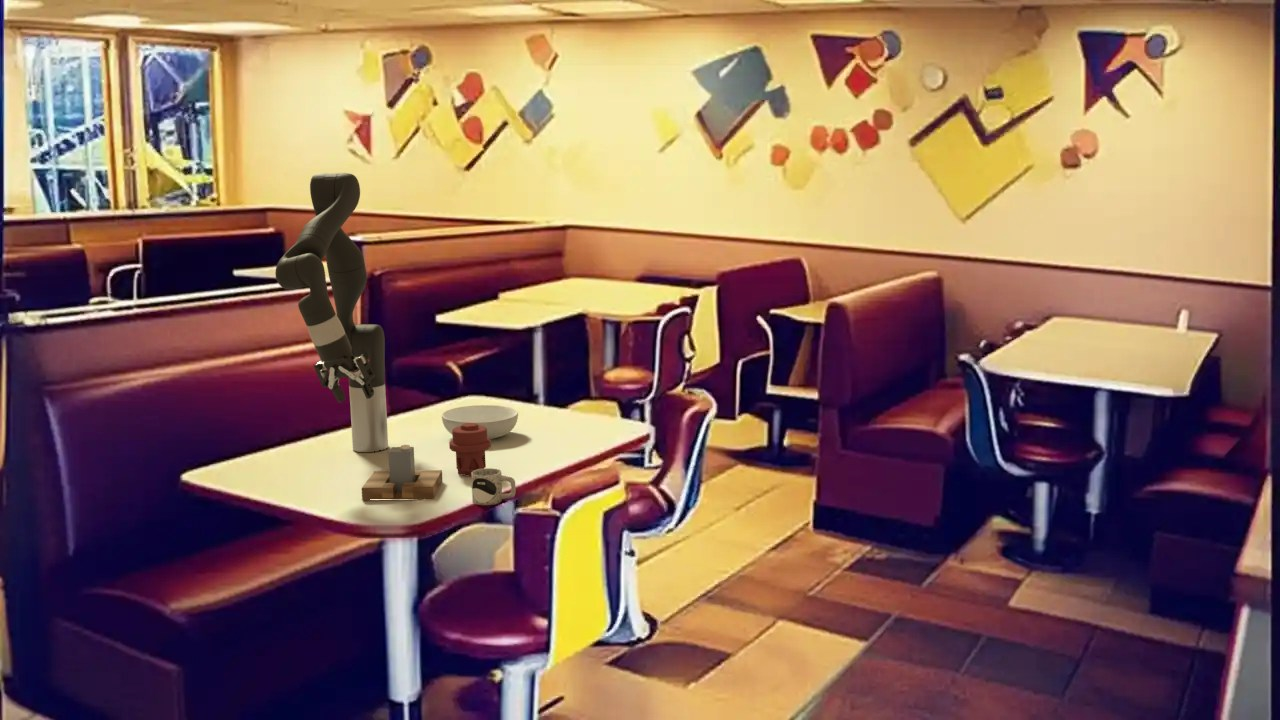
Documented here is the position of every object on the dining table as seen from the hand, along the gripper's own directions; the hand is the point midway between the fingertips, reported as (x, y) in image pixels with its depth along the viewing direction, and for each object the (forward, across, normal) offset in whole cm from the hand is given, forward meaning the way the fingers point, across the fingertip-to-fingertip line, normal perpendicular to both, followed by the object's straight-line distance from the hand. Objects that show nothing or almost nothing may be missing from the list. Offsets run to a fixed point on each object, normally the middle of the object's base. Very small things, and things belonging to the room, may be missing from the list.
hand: (356, 398), depth 274 cm
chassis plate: (+21, -9, +8) cm, 24 cm away
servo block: (+21, -9, +7) cm, 24 cm away
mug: (+26, -32, +7) cm, 42 cm away
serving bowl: (+36, +4, -42) cm, 55 cm away
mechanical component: (+28, -15, -10) cm, 34 cm away
